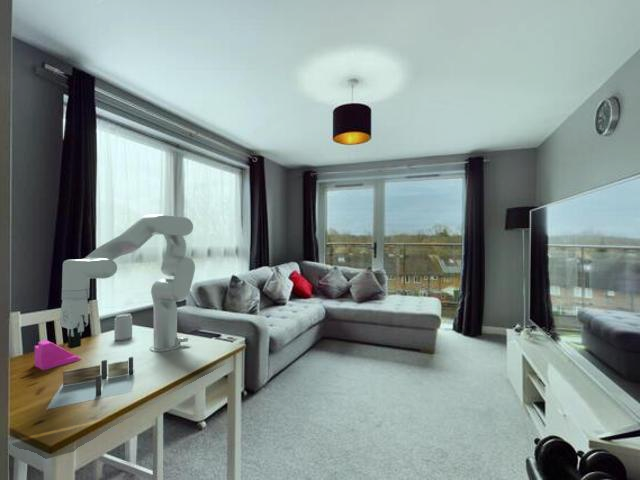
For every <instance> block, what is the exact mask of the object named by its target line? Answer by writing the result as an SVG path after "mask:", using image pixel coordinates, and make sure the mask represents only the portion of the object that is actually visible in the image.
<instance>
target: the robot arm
mask: <svg viewBox="0 0 640 480" xmlns="http://www.w3.org/2000/svg"><path fill="white" fill-rule="evenodd" d="M193 230H194V224H193V221H191V219H189V218H187V217H184V216H177V215H176V216H174V215H168V214H147V215H144V216H142V217H140V218H139V219H138V220H137V221H135V222H134V223H133V224H132V225H130V227H128V228H126V230H125V231H123V232H122V233H121V234H120V235H118V236H116V237H115V238H112V239H111V240H109V241H107V242H106V243H103V244H102V245H100V246H99V247H97V248H95V249H94V250H93V251H92V252H90V253H88V255H87V256H85V257H84V258H81V259H80V258H79V259H77V258H76V259H73V258H72V259H71V258H70V259H66V260H64V261H63V262H62V273H61V274H62V276H61V279H62V280H61V286H62V287H61V301H62V302H61V306H60V307H61V308H60V317H59V325H60V326H61V327H62V328H65V329H66V330H67V349H71V350H72V349H75V348H79V347H81V346H82V335H83V334H82V333H84V332H85V328H86V327H87V326H88V325H89V303H88V299H90V284H91V283H90V282H91V281H90V279H102V280H103V279H104V280H105V279H108V278H111V277H113V276H114V275H115V274H116V273H117V272H118V264H117V263H116V262H115V261H114V260H115V259H118V258H120V257H122V256H126V255H129V254H132V253H134V252H136V251H138V250H139V249H140V248H141V247H143V245H144V244H145V243H147V242H149V240H150V239H151V238H152V237H154V236H155V235H163V237H164V239H165V241H166V247H165V251H164V255H163V259H162V262H161V267H160V271H161V273H162V274H163V276H168V277H173V278H160V279H158V280H156V281H154V283H153V284H152V285H151V289H150V294H151V298H152V304H153V305H152V307H153V344H152V345H150V347H149V351H150V352H153V353H163V352H164V353H166V352H170V351H173V350H178V349H179V348H180V347H181V346H182V344H181V343H185V342H189V336H188V337H187V336H186V337H185V336H181V337H180V336H178V305H177V302H183V301H185V300H186V299H187V297H188V296H189V294H190V292H191V288H192V284H193V280H194V278H195V277H194V276H195V272H196V264H195V261H194V260H193V258H191V257H188V256H185V255H186V251H187V242H186V239H185V238H184V237H186V236H188V235H190V234H191V233H192V231H193Z"/></svg>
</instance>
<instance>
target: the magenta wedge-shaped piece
mask: <svg viewBox="0 0 640 480" xmlns="http://www.w3.org/2000/svg"><path fill="white" fill-rule="evenodd" d="M81 360H82V358H80V357H79V356H76V355H75V354H73V353H72V352H70V351H68V350H66V349H64V348H62V347H61V346H60V345H57V344H55V343H54V342H51V341H49V340H48V339H47V340H43V341H38V345H35V346H34V366H35V367H36V368H37V369H38V368H39V369H40V370H41V371H45V370H49V369H51V368H56V367H59V366H64V365H67V364H70V363H74V362H78V361H81Z"/></svg>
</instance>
